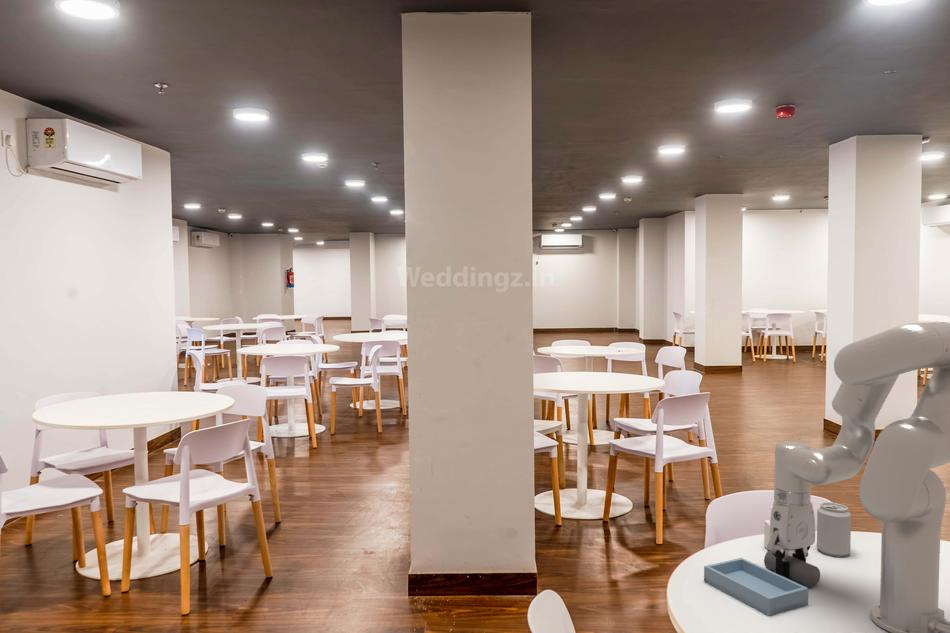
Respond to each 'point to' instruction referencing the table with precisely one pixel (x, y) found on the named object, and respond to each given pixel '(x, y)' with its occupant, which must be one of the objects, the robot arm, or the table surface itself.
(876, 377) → the robot arm
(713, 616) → the table surface
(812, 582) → the cylinder
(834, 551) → the can
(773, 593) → the trough
